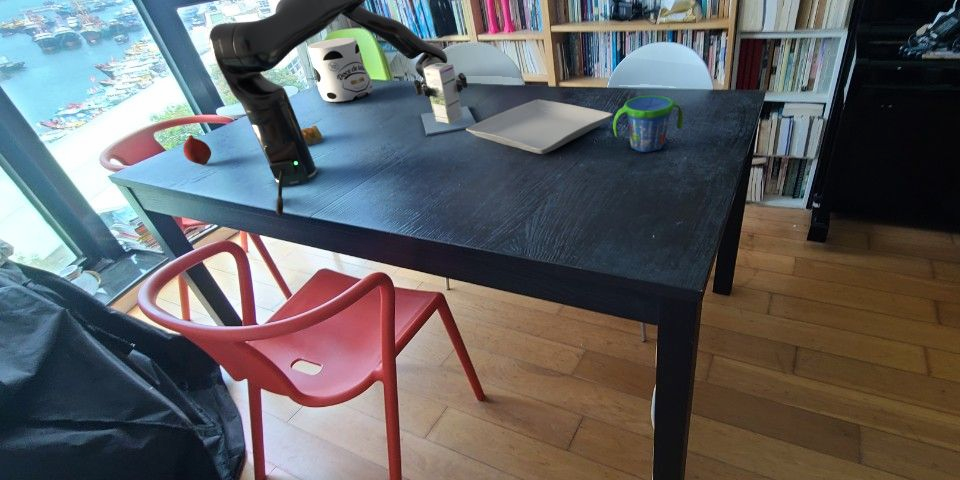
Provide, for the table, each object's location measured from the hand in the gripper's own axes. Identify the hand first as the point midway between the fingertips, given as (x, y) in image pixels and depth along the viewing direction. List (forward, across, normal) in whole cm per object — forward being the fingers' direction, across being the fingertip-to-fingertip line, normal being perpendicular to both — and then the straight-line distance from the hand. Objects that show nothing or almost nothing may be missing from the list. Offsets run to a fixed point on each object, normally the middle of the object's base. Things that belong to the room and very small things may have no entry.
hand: (443, 91), depth 126 cm
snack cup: (+36, +41, +10) cm, 56 cm away
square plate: (+16, +21, +10) cm, 28 cm away
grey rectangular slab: (-7, 0, +10) cm, 12 cm away
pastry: (-10, -39, +11) cm, 42 cm away
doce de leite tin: (-48, -29, +11) cm, 57 cm away
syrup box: (-2, 0, +9) cm, 9 cm away
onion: (-7, -65, +11) cm, 66 cm away
